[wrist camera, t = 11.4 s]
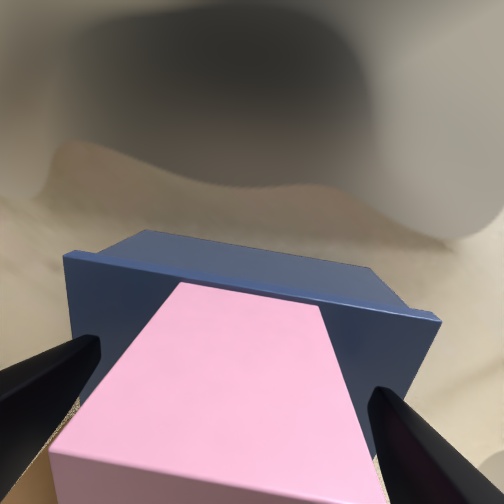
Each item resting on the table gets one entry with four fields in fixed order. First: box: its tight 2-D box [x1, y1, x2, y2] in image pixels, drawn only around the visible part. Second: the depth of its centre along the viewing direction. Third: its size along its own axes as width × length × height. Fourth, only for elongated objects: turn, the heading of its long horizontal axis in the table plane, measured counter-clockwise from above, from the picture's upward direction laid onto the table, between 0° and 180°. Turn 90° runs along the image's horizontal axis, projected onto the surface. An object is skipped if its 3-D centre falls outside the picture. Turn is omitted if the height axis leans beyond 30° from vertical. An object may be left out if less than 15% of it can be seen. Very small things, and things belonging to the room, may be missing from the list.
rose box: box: [48, 282, 387, 504], centre depth 6 cm, size 5×5×5 cm
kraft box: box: [0, 419, 71, 504], centre depth 16 cm, size 5×5×5 cm
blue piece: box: [63, 230, 442, 461], centre depth 12 cm, size 13×14×5 cm
